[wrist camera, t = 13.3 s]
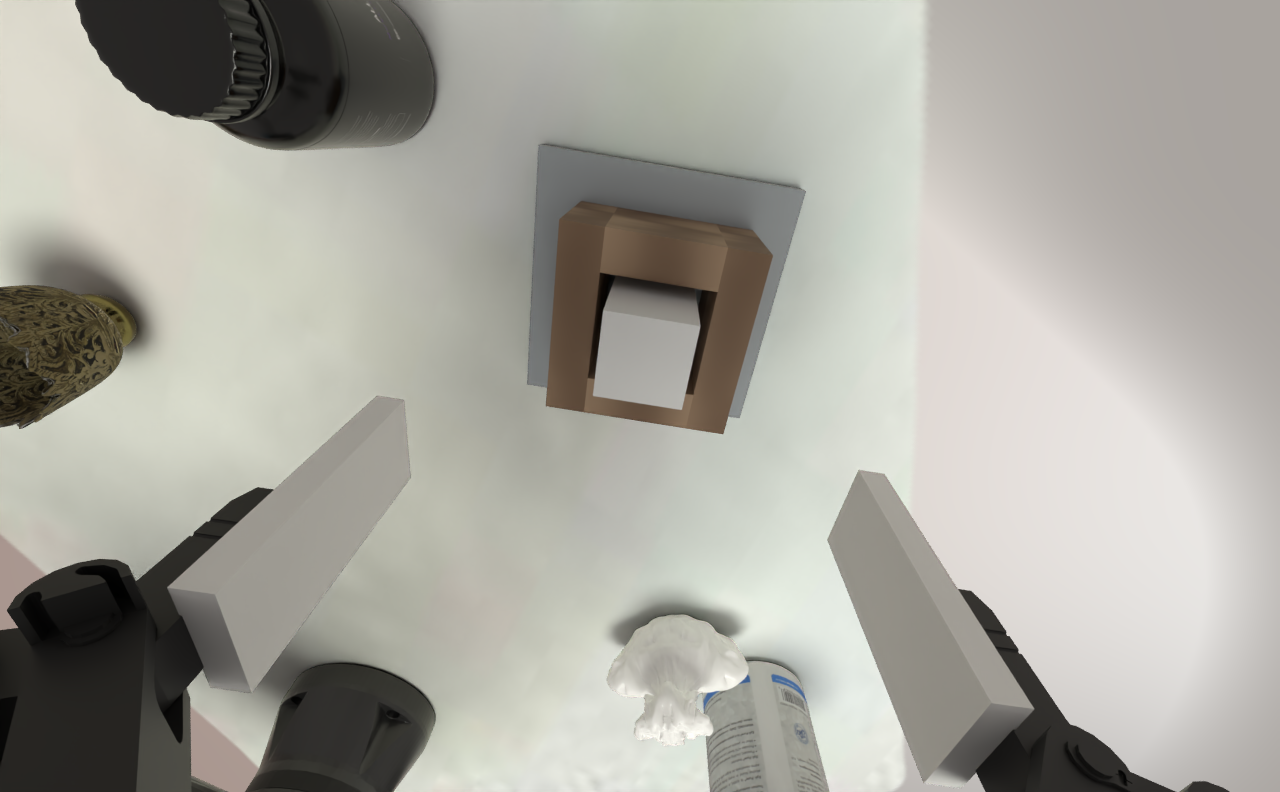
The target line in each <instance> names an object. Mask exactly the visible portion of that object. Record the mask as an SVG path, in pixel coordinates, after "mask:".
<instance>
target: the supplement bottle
mask: <svg viewBox="0 0 1280 792" xmlns="http://www.w3.org/2000/svg"><path fill="white" fill-rule="evenodd" d="M75 5H76V7H77V9H78V11H79V13H80V19H81V24H82V26H83V27H84V29H85V30H86V32H87V34H88V38H89V42H90V43H91V44H92V46H93V47H94V48H95V49H96V50H97V53H98V55H99V57H100V60H101V61H102V62H103V63H104V64H106V65H107V66H108V68H109V70H110V71H111V73H112V75H113V76H114V77H115V78H117V79H119V80H120V81H121V82H122V84H123V85H124V86H125V88H126V89H127V90H129V91H130V92H132V93H135V94H136V96H137V97H138V98H139V99H140V100H141V101H143V102H145V103H149V104H150V105H151V106H153V107H154V108H155V109H156V110H158V111H163V112H167V113H168V114H170V115H172V116H174V117H184V118H188V119H192V120H205V121H209V122H212V123H214V124H215V125H216V126H218V127H219V128H221V129H222V130H224V131H225V132H227V133H228V134H230V135H232V136H234V137H236V138H238V139H240V140H242V141H244V142H246V143H249V144H252V145H255V146H258V147H262V148H266V149H273V150H316V149H339V148H363V147H380V146H390V145H394V144H398V143H401V142H403V141H405V140H407V139H409V138H410V137H412V136H413V135H414V134H415V133H416V132H417V131H418V130H419V129H420V128H421V127H422V125H423V124H424V122H425V121H426V119H427V117H428V115H429V112H430V109H431V106H432V101H433V95H434V76H433V69H432V65H431V60H430V57H429V54H428V51H427V48H426V46H425V44H424V42H423V40H422V38H421V36H420V34H419V32H418V31H417V29H416V27H415V26H414V25H413V23H412V22H411V20H410V19H409V18H408V17H407V16H406V14H405V13H404V12H403V11H402V10H401V9H400V8H399V7H398V6H396V5H395V4H394V3H393V2H392V1H390V0H75Z"/></svg>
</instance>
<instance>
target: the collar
mask: <svg viewBox="0 0 1280 792" xmlns="http://www.w3.org/2000/svg"><path fill="white" fill-rule="evenodd" d="M772 258H773V254H772V253H771V252H770V251H769V250H768V248H767V247H766V246H765V245H764V243H763V242H762V241H761V240H760V238H759V237H758V236H757V235H756V233H755V232H754V231H753V230H749V229H743V228H737V227H731V226H725V225H719V224H713V223H708V222H702V221H696V220H690V219H684V218H678V217H672V216H667V215H661V214H655V213H649V212H643V211H637V210H631V209H625V208H620V207H614V206H608V205H602V204H596V203H590V202H584V201H580V202H579V203H578V204H577V205H576V206H574V207H573V208H572V209H571V210H570V211H568V212H567V213H566V214H565V215H564V216H562V217H561V218H560V219H559V228H558V242H557V257H556V271H555V285H554V299H553V313H552V327H551V341H550V355H549V369H548V383H547V397H546V406H549V407H555V408H562V409H568V410H574V411H580V412H587V413H593V414H599V415H606V416H612V417H618V418H624V419H631V420H637V421H643V422H649V423H656V424H662V425H668V426H675V427H681V428H687V429H693V430H700V431H706V432H712V433H719V434H723V433H724V429H725V426H726V422H727V419H728V415H729V412H730V408H731V404H732V401H733V397H734V394H735V390H736V387H737V383H738V379H739V376H740V372H741V369H742V365H743V362H744V358H745V354H746V351H747V347H748V344H749V340H750V337H751V333H752V329H753V326H754V322H755V319H756V315H757V312H758V308H759V304H760V301H761V297H762V294H763V290H764V287H765V283H766V280H767V276H768V272H769V269H770V265H771V262H772ZM610 274H612V275H618V276H624V277H629V278H635V279H641V280H647V281H653V282H659V283H665V284H671V285H677V286H683V287H689V288H695V289H701V290H702V293H701V298H700V302H699V307H698V313H699V319H700V326H701V327H700V331H699V336H698V340H697V344H696V349H695V353H694V358H693V362H692V367H691V371H690V376H689V380H688V385H687V389H686V393H685V398H684V402H683V407H682V410H678V409H672V408H666V407H659V406H653V405H647V404H640V403H634V402H628V401H622V400H615V399H609V398H603V397H597V396H593V390H594V382H595V374H596V365H597V357H598V349H599V341H600V333H601V324H602V316H603V309H604V307H605V304H606V299H607V291H608V283H609V275H610Z"/></svg>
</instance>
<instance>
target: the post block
mask: <svg viewBox="0 0 1280 792" xmlns="http://www.w3.org/2000/svg"><path fill="white" fill-rule="evenodd" d="M805 193H806V191H805V190H802V189H800V188H794V187H788V186H783V185H777V184H771V183H765V182H759V181H754V180H748V179H742V178H736V177H730V176H724V175H719V174H713V173H707V172H701V171H695V170H690V169H684V168H678V167H672V166H666V165H661V164H655V163H649V162H643V161H637V160H632V159H626V158H620V157H614V156H608V155H603V154H597V153H591V152H585V151H579V150H574V149H568V148H562V147H556V146H550V145H545V144H543V145H539V151H538V171H537V192H536V213H535V234H534V255H533V276H532V297H531V317H530V338H529V359H528V380H527V384H528V385H534V386H541V387H547V383H548V369H549V355H550V341H551V327H552V313H553V299H554V285H555V271H556V257H557V242H558V228H559V219H560V218H561V217H562V216H564V215H565V214H566V213H567V212H568V211H570V210H571V209H572V208H573V207H574V206H576V205H577V204H578V203H579V202H580V201H584V202H590V203H596V204H602V205H608V206H614V207H620V208H625V209H631V210H637V211H643V212H649V213H655V214H661V215H667V216H672V217H678V218H684V219H690V220H696V221H702V222H708V223H713V224H719V225H725V226H731V227H737V228H743V229H749V230H753V231H754V232H755V233H756V235H757V236H758V237H759V238H760V240H761V241H762V242H763V243H764V245H765V246H766V247H767V248H768V250H769V251H770V252H771V253H772V254H773V258H772V262H771V265H770V269H769V272H768V276H767V280H766V283H765V287H764V290H763V294H762V297H761V301H760V304H759V308H758V312H757V315H756V319H755V322H754V326H753V329H752V333H751V337H750V340H749V344H748V347H747V351H746V354H745V358H744V362H743V365H742V369H741V372H740V376H739V379H738V383H737V387H736V390H735V394H734V397H733V401H732V404H731V408H730V412H729V415H728V416H729V417H735V418H740V415H741V411H742V408H743V404H744V401H745V398H746V394H747V391H748V387H749V384H750V380H751V377H752V374H753V370H754V367H755V363H756V360H757V357H758V353H759V350H760V346H761V343H762V339H763V336H764V333H765V329H766V326H767V322H768V319H769V316H770V312H771V309H772V305H773V302H774V298H775V295H776V292H777V288H778V285H779V281H780V278H781V275H782V271H783V268H784V264H785V261H786V257H787V254H788V251H789V247H790V244H791V240H792V237H793V234H794V230H795V227H796V223H797V220H798V216H799V213H800V210H801V206H802V203H803V199H804V196H805ZM701 293H702V290H701V289H695V288H689V287H683V286H677V285H671V284H665V283H659V282H653V281H647V280H641V279H635V278H629V277H624V276H618V275H612V274H610V275H609V283H608V291H607V299H606V304H605V307H604V309H603V316H602V324H601V333H600V341H599V349H598V357H597V365H596V374H595V382H594V390H593V396H597V397H603V398H609V399H615V400H622V401H628V402H634V403H640V404H647V405H653V406H659V407H666V408H672V409H678V410H682V407H683V402H684V398H685V393H686V389H687V385H688V380H689V376H690V371H691V367H692V362H693V358H694V353H695V349H696V344H697V340H698V336H699V331H700V327H701V326H700V319H699V313H698V307H699V302H700V298H701Z"/></svg>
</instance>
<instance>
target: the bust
mask: <svg viewBox="0 0 1280 792" xmlns="http://www.w3.org/2000/svg"><path fill="white" fill-rule="evenodd" d="M748 670H749V666H748V665H747V662H746V659H745V658H744V656H743V655H742V653H741V652H740V650H739V649H738V647H737V645H736V643H735V642H734V641H733V640H732V639H731V638H729V637H727V636H724V635H722V634H719V633H717V632H716V631H715V629H714V628H713V627H712V625H710V624H709V623H708V622H705V621H701V620H697V619H694V618H693V617H690V616H688V615H667V616H662V617H657V618H655V619H653V620H651V621H650V622H649V623H648V624H647V625H645V626H642V627H640V628H638V629H637V630H635V632H634V634H633V635H632V637H631V639H630V641H629V642H628V643H627V644H626V646H625V647H624V649H623V650H622V651H621V653H620V654H619V655H618V656H617V658H616V659H615V660H614V661H613V663H612V667H611V668H610V670H609V673H608V676H607V683H608V685H609V687H610V688H611V689H612V690H613V691H615V692H616V693H617V694H619V695H621V696H624V697H629V698H637V697H641V698H644V699H645V707H644V711H645V712H644V713H643V714H642V715H641V717H640V718H639V719H638V720H637V721H636V722H635V729H634V735H635V737H636V738H637V739H638V740H644V739H651V738H655V739H656V740H657V741H658V742H662V746H666V745H671V746H678V745H680V744H681V745H684V743H685V742H684V740H685V737H686V736H687V738H688V739H691V740H694V739H695V738H696V737H697V736H698V735H707V736H710V735H711V734H712V733H713V725H712V723H711V721H710V718H709V716H708V715H706V714H704V713H702V712H701V711H700V710H699V709H697V708H696V700H697V697H698V694H699V693H710V692H715V691H724V690H728V689H731V688H733V687H735V686H736V685H738V684H739V683H740V682H741V681H743V680H744V679H745V678H746V676H747V674H748Z"/></svg>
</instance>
